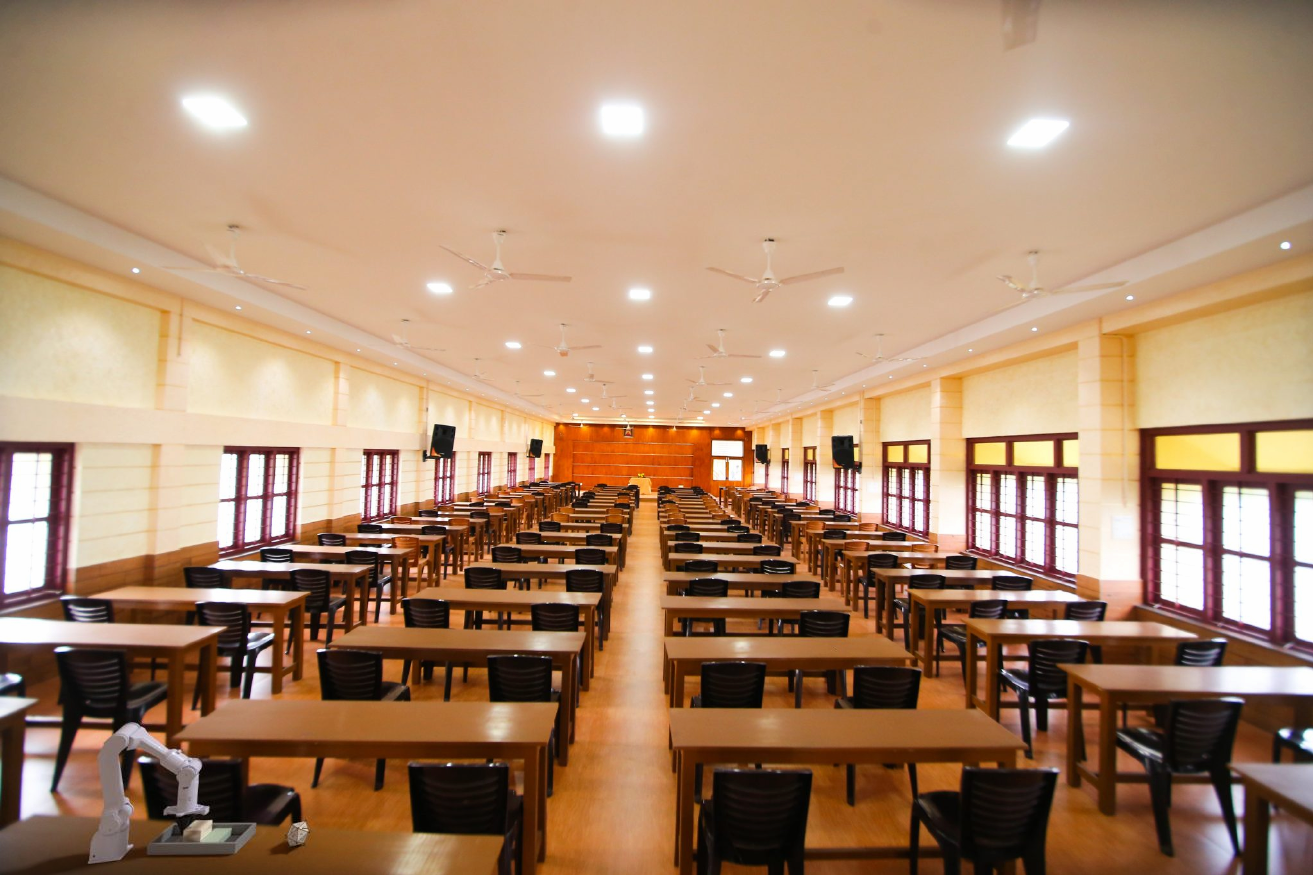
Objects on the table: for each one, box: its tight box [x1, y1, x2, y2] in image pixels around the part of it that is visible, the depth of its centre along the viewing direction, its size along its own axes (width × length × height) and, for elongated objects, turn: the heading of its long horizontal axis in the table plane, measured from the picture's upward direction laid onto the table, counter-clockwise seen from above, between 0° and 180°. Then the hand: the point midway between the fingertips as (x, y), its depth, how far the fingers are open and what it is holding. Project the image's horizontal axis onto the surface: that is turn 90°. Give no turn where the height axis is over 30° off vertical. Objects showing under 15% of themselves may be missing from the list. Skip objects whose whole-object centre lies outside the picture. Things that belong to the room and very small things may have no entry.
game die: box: [284, 818, 312, 850], centre depth 214 cm, size 9×8×10 cm
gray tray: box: [146, 822, 257, 856], centre depth 212 cm, size 30×12×4 cm, turn 94°
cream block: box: [183, 819, 213, 842], centre depth 212 cm, size 6×6×4 cm
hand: (184, 833), depth 212 cm, fingers closed
